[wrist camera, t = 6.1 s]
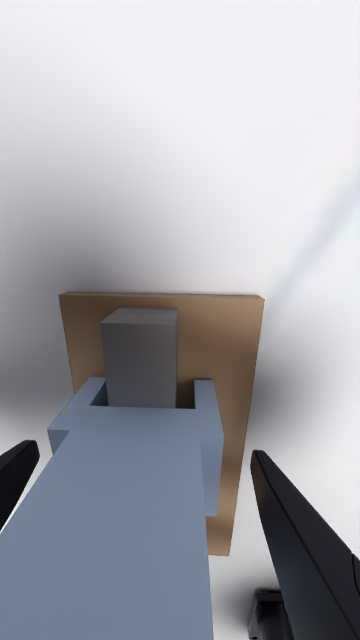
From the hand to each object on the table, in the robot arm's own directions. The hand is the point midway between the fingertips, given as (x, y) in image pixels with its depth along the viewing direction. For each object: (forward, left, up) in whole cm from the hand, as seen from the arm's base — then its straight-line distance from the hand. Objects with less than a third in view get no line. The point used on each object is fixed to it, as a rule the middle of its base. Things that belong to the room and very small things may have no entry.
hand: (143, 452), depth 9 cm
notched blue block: (0, 0, -2) cm, 2 cm away
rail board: (-3, 0, -3) cm, 4 cm away
